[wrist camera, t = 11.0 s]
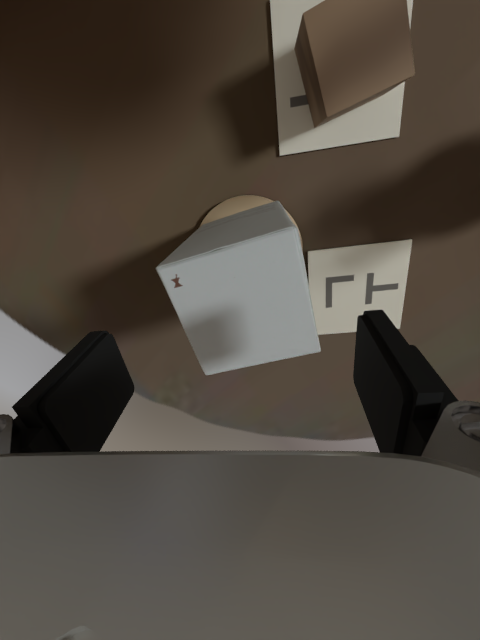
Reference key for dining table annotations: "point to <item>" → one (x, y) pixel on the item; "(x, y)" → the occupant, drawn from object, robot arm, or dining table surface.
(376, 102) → the code tile
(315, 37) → the walnut block
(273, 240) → the supplement box
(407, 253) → the code tile
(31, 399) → the robot arm
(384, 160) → the dining table surface
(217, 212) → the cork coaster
